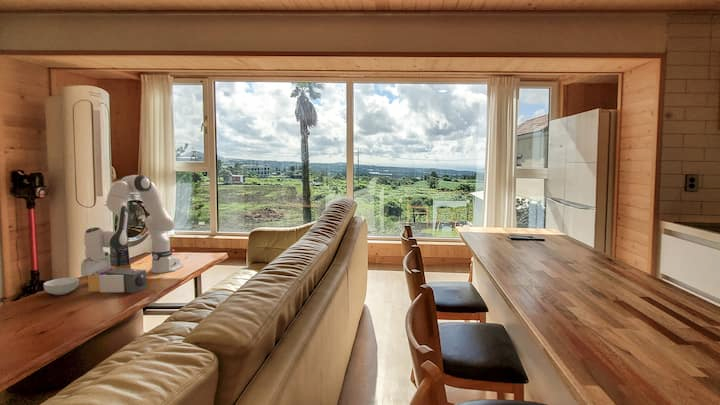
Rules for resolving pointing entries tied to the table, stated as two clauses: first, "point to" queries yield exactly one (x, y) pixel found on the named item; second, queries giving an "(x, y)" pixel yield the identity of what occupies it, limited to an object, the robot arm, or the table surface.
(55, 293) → the cereal bowl
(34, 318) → the table surface
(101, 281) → the side door
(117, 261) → the whiskey bottle
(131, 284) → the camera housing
